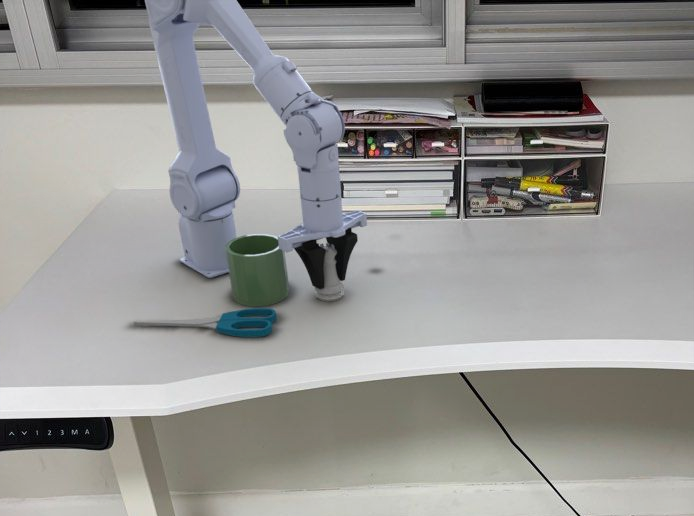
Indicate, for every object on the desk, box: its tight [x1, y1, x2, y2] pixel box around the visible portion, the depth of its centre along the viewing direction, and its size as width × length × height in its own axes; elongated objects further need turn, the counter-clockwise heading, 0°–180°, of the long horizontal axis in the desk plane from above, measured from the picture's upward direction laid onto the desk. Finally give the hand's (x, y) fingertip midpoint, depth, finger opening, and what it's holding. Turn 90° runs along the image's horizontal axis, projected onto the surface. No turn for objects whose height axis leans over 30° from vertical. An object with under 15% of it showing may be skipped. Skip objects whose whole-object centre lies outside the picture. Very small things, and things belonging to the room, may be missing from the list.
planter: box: [225, 233, 290, 307], centre depth 119 cm, size 8×8×8 cm
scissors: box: [133, 307, 278, 338], centre depth 112 cm, size 7×1×20 cm
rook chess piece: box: [314, 242, 345, 302], centre depth 118 cm, size 4×4×8 cm
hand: (328, 282), depth 119 cm, fingers closed on rook chess piece, 3 cm apart
